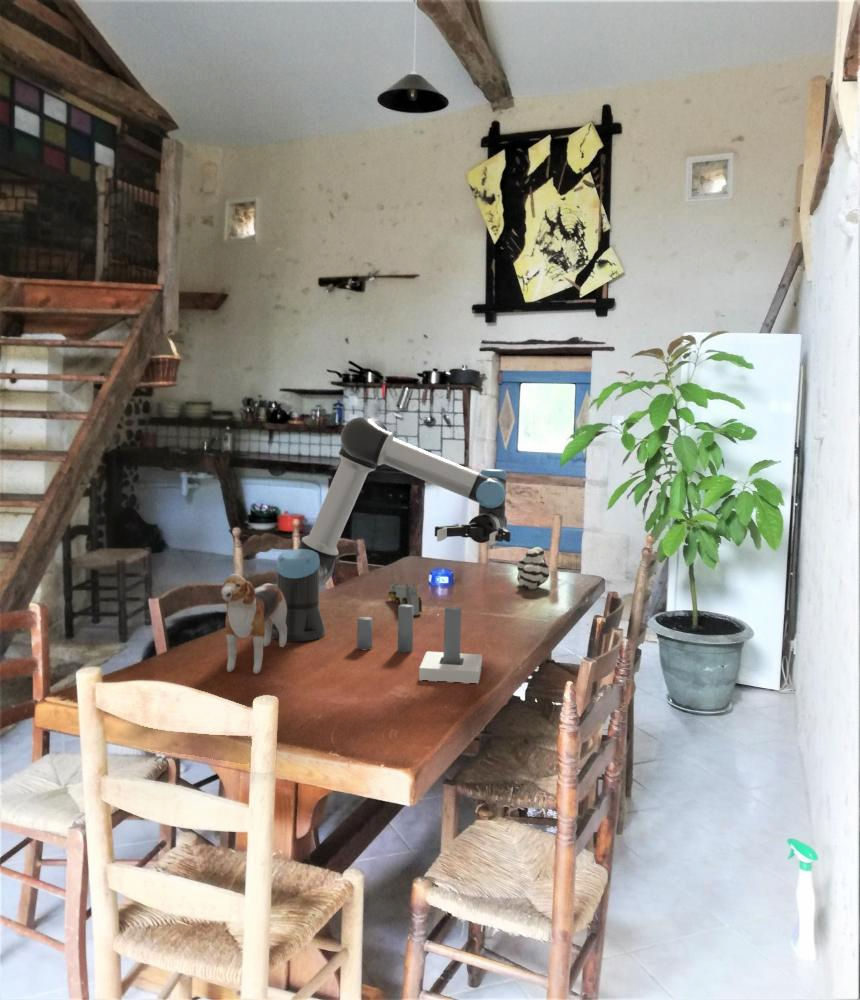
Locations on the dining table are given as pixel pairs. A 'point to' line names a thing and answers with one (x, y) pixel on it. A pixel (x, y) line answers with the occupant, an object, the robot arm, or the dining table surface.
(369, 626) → the short dowel
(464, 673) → the block
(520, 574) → the sculpture
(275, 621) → the dog model
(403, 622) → the medium dowel
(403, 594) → the toy
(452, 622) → the tall dowel
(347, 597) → the dining table surface
